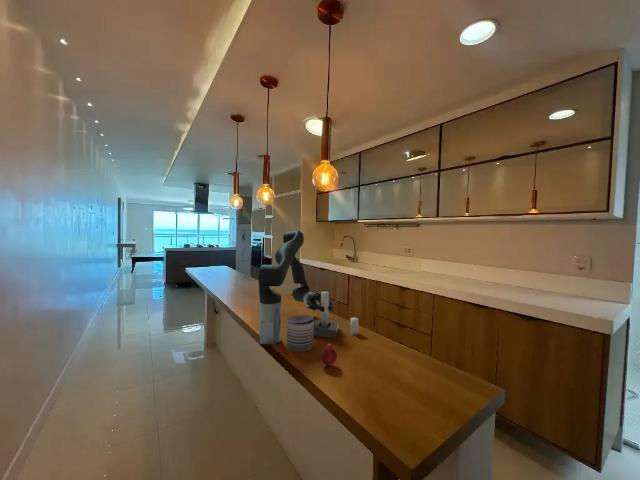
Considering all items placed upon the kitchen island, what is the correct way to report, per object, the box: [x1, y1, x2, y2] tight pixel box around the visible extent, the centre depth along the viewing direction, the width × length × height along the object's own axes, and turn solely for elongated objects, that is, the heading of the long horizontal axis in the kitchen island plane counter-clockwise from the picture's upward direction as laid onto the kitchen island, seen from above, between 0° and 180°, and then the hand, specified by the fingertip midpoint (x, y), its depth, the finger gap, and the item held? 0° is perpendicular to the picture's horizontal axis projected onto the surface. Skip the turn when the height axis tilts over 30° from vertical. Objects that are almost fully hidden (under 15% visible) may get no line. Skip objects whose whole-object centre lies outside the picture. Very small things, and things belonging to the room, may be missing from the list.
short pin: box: [350, 317, 359, 336], centre depth 130 cm, size 4×4×7 cm
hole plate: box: [313, 319, 339, 339], centre depth 132 cm, size 12×12×4 cm
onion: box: [320, 343, 338, 367], centre depth 99 cm, size 6×6×8 cm
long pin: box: [320, 291, 330, 327], centre depth 131 cm, size 4×4×17 cm
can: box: [286, 314, 315, 352], centre depth 116 cm, size 11×11×12 cm
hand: (327, 309), depth 129 cm, fingers closed on long pin, 3 cm apart
